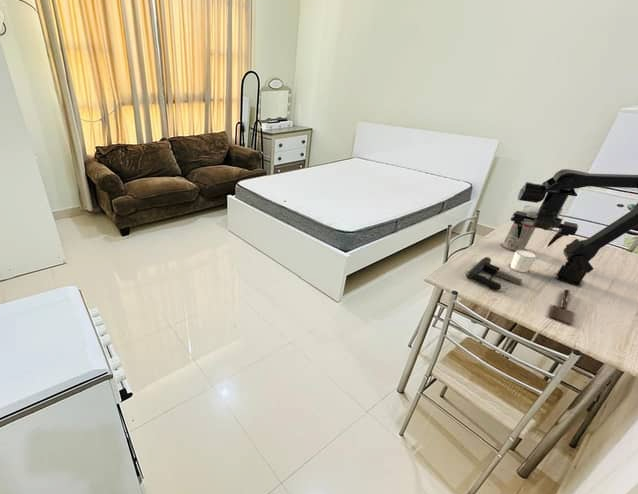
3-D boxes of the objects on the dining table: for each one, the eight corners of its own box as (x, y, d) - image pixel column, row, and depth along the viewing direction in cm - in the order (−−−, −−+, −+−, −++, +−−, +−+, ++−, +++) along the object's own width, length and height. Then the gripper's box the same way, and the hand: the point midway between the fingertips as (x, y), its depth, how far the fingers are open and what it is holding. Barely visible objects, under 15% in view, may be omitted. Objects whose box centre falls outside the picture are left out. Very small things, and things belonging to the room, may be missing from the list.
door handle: (528, 272, 124) (482, 254, 134) (512, 292, 113) (463, 270, 123) (523, 279, 126) (478, 260, 136) (507, 299, 115) (460, 277, 125)
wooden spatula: (574, 295, 115) (577, 292, 115) (569, 324, 102) (572, 321, 101) (556, 289, 118) (558, 286, 118) (549, 317, 105) (552, 313, 104)
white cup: (504, 263, 134) (511, 249, 131) (521, 264, 134) (528, 249, 130) (516, 272, 128) (524, 258, 125) (533, 273, 128) (542, 258, 124)
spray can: (528, 253, 142) (550, 211, 132) (507, 251, 143) (528, 210, 133) (518, 244, 149) (538, 204, 139) (498, 242, 151) (517, 202, 141)
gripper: (516, 203, 118) (499, 241, 126) (585, 218, 106) (562, 258, 114) (522, 196, 125) (505, 232, 133) (587, 209, 113) (565, 247, 121)
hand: (532, 242), depth 125 cm, fingers open, 9 cm apart
